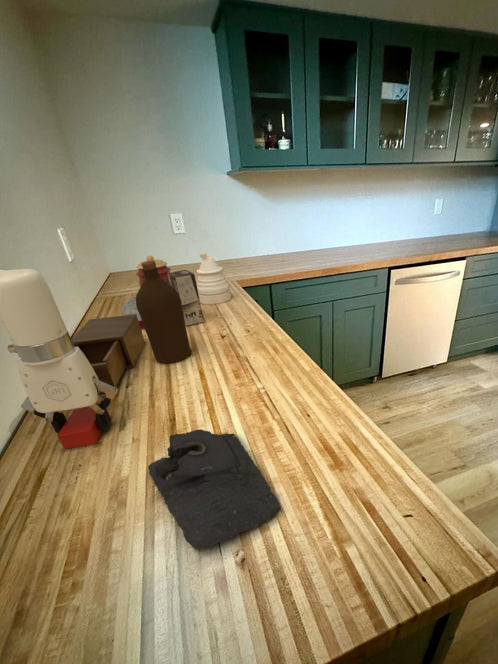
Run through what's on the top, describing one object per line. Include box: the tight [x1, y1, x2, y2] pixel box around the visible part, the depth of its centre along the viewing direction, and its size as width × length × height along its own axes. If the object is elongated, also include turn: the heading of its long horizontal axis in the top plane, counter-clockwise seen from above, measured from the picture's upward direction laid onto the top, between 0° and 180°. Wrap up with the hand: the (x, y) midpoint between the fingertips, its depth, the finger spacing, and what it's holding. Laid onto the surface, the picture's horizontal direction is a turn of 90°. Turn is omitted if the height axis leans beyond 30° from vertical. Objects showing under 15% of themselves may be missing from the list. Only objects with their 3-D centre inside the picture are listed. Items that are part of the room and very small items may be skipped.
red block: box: [56, 407, 103, 450], centre depth 64 cm, size 8×6×3 cm
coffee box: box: [167, 269, 205, 327], centre depth 112 cm, size 9×6×16 cm
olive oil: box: [135, 260, 192, 364], centre depth 86 cm, size 11×11×25 cm
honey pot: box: [196, 252, 232, 305], centre depth 131 cm, size 13×13×18 cm
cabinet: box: [71, 314, 146, 370], centre depth 91 cm, size 17×13×9 cm
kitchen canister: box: [135, 255, 172, 287], centre depth 134 cm, size 13×13×18 cm
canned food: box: [120, 296, 145, 330], centre depth 114 cm, size 11×10×10 cm
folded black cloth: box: [147, 428, 282, 551], centre depth 51 cm, size 15×22×5 cm
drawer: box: [75, 340, 128, 396], centre depth 78 cm, size 19×11×7 cm, turn 12°
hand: (86, 429), depth 65 cm, fingers open, 6 cm apart
